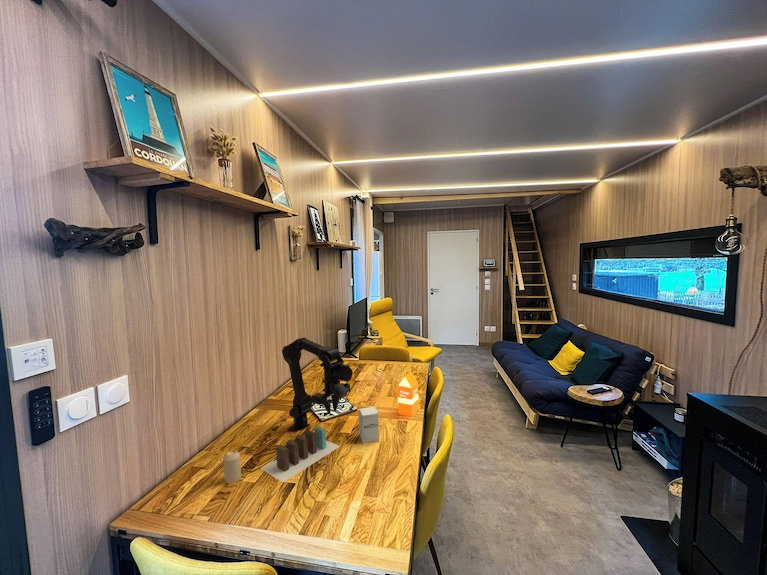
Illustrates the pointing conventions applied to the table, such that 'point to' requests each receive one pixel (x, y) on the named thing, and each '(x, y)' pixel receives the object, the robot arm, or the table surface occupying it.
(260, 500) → the table surface
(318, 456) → the mat
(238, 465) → the candle
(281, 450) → the domino
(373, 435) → the supplement box
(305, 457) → the domino
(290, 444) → the domino
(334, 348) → the robot arm
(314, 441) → the domino
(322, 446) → the domino
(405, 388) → the orange juice
